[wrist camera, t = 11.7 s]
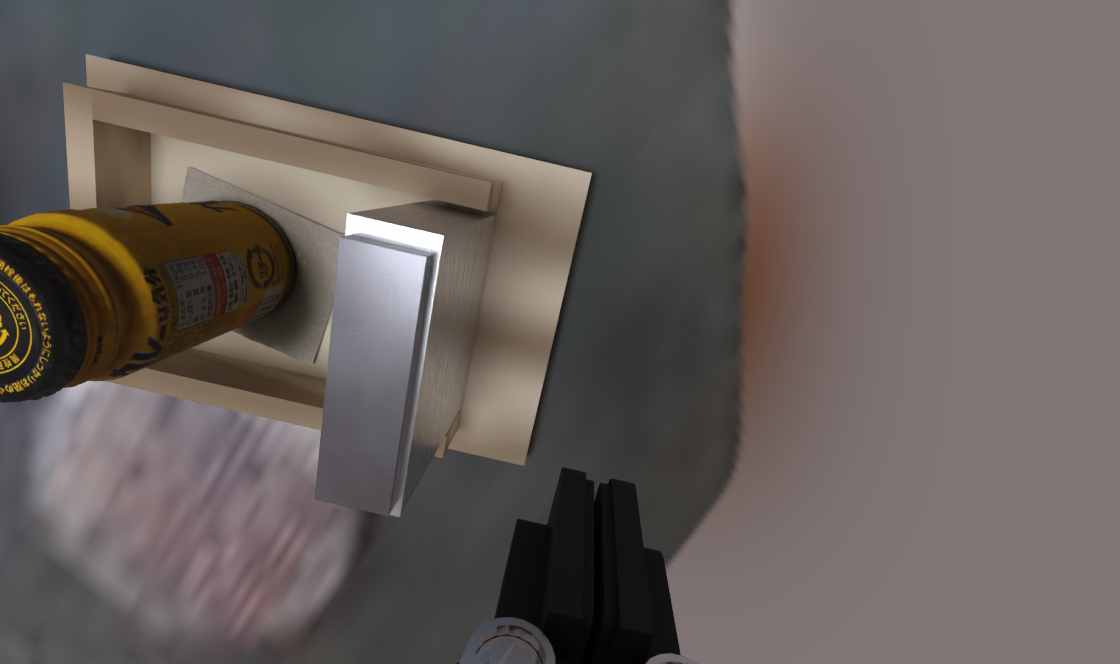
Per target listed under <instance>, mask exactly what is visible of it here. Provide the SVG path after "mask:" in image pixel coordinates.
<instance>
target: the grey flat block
mask: <svg viewBox="0 0 1120 664" xmlns="http://www.w3.org/2000/svg"><path fill="white" fill-rule="evenodd" d="M496 216H497V213H493V212H488V211H483V210H479V209H474V208H470V207H466V206H461V205H457V204H453V203H449V202H444V201H440V200H436V199H435V200H428V201H422V202H416V203H409V204H403V205H397V206H390V207H384V208H378V209H372V210H365V211H359V212H353V213H347V221H346V231H345V236H343V237H340V239H339V250H338V260H337V271H336V281H335V292H334V302H333V313H332V323H331V334H330V345H329V355H328V366H327V376H326V387H325V397H324V408H323V418H322V429H321V439H320V450H319V460H318V471H317V481H316V492H315V500H319V501H324V502H328V503H333V504H337V505H341V506H346V507H350V508H355V509H359V510H364V511H368V512H372V513H377V514H381V515H386V516H389V515H393V516H397V517H400V516H401V514H402V513H403V511H404V509H405V507H406V505H407V504H408V502H409V500H410V498H411V496H412V495H413V493H414V491H415V489H416V487H417V486H418V484H419V482H420V480H421V478H422V477H423V475H424V473H425V471H426V469H427V468H428V466H429V464H430V462H431V460H432V459H433V457H434V455H435V453H436V451H437V450H438V448H439V446H440V444H441V442H442V441H443V439H444V437H445V435H446V433H447V432H448V430H449V428H450V426H451V424H452V423H453V421H454V419H455V417H456V415H457V414H458V412H459V410H460V408H461V406H462V402H463V396H464V391H465V385H466V380H467V375H468V369H469V364H470V358H471V353H472V347H473V342H474V336H475V331H476V325H477V320H478V315H479V309H480V304H481V298H482V293H483V287H484V282H485V276H486V271H487V265H488V260H489V255H490V249H491V244H492V238H493V233H494V227H495V222H496Z"/></svg>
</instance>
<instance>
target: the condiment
mask: <svg viewBox="0 0 1120 664" xmlns="http://www.w3.org/2000/svg"><path fill="white" fill-rule="evenodd" d="M343 236H344V235H342V234H339V233H337V232H334V231H332V230H330V229H328V228H326V227H324V226H321V225H319V224H316V223H314V222H312V221H310V220H307V219H305V218H303V217H301V216H299V215H296V214H294V213H292V212H290V211H288V210H285V209H283V208H281V207H279V206H277V205H275V204H273V203H270V202H268V201H266V200H264V199H262V198H259V197H257V196H255V195H252V194H250V193H248V192H246V191H243V190H241V189H239V188H237V187H234V186H232V185H230V184H228V183H226V182H223V181H221V180H218V179H216V178H214V177H212V176H210V175H207V174H205V173H203V172H200V171H198V170H195V169H193V168H190V167H187V175H186V177H185V183H184V188H183V195H182V198H181V203H172V204H170V203H169V204H166V203H163V204H153V205H133V206H127V207H108V208H88V209H83V210H75V209H69V210H61V211H53V212H43V213H37V214H33V215H30V216H27V217H24V218H22V219H19V220H16V221H14V222H11V223H10V224H8V225H0V402H4V403H6V402H21V401H25V400H38V399H41V398H42V397H43V396H44V397H47V396H50V395H52V394H54V393H56V392H57V391H60V390H61V389H62V388H66V387H74V386H77V385H79V384H82V383H84V382H86V381H106V380H115V379H118V378H123V377H125V376H127V375H129V374H131V373H134V372H137V371H139V370H141V369H144V368H146V367H148V366H151V365H153V364H156V363H158V362H160V361H162V360H165V359H167V358H169V357H171V356H174V355H176V354H179V353H182V352H183V351H186V350H188V349H190V348H192V347H195V346H197V345H200V344H202V343H204V342H207V341H209V340H211V339H213V338H216V337H218V336H220V335H223V334H225V333H228V332H230V331H233V332H235V333H237V334H241V335H242V336H244V337H246V338H247V339H250V340H252V341H255V342H258V343H261V344H263V345H265V346H267V347H270V348H273V349H275V350H277V351H279V352H282V353H284V354H286V355H288V356H290V357H292V358H293V359H296V360H299V361H301V362H304V363H306V364H308V365H311V366H312V364H313V361H314V358H315V355H316V352H317V350H318V348H319V345H320V342H321V339H322V336H323V333H324V329H325V326H326V324H327V321H328V318H329V315H330V312H331V309H332V305H333V302H334V292H335V281H336V271H337V260H338V250H339V239H340V237H343ZM298 253H299V254H300V257H299V256H298ZM304 260H305V262H306V265H305V264H304V262H303V261H304Z"/></svg>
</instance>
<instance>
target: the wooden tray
mask: <svg viewBox="0 0 1120 664" xmlns="http://www.w3.org/2000/svg"><path fill="white" fill-rule="evenodd" d="M86 72H87V86H82V85H76V84H70V83H64V82H63V95H64V112H65V129H66V146H67V162H68V179H69V196H70V209H75V210H83V209H88V208H108V207H127V206H133V205H153V204H163V203H166V204H169V203H170V204H172V203H181V198H182V195H183V188H184V183H185V177H186V175H187V167H190V168H193V169H195V170H198V171H200V172H203V173H205V174H207V175H210V176H212V177H214V178H216V179H218V180H221V181H223V182H226V183H228V184H230V185H232V186H234V187H237V188H239V189H241V190H243V191H246V192H248V193H250V194H252V195H255V196H257V197H259V198H262V199H264V200H266V201H268V202H270V203H273V204H275V205H277V206H279V207H281V208H283V209H285V210H288V211H290V212H292V213H294V214H296V215H299V216H301V217H303V218H305V219H307V220H310V221H312V222H314V223H316V224H319V225H321V226H324V227H326V228H328V229H330V230H332V231H334V232H337V233H339V234H342V235H344V236H345V231H346V221H347V213H353V212H359V211H365V210H372V209H378V208H384V207H390V206H397V205H403V204H409V203H416V202H422V201H428V200H435V199H436V200H440V201H444V202H449V203H453V204H457V205H461V206H466V207H470V208H474V209H479V210H483V211H488V212H493V213H497V216H496V222H495V227H494V233H493V238H492V244H491V249H490V255H489V260H488V265H487V271H486V276H485V282H484V287H483V293H482V298H481V304H480V309H479V315H478V320H477V325H476V331H475V336H474V342H473V347H472V353H471V358H470V364H469V369H468V375H467V380H466V385H465V391H464V396H463V402H462V406H461V408H460V410H459V412H458V414H457V415H456V417H455V419H454V421H453V423H452V424H451V426H450V428H449V430H448V432H447V433H446V435H445V437H444V439H443V441H442V442H441V444H440V446H439V448H438V450H437V451H436V453H435V455H434V456H436V457H441V458H443V457H444V455H445V453H446V451H447V449H452V450H456V451H461V452H465V453H470V454H474V455H478V456H483V457H487V458H492V459H496V460H500V461H505V462H509V463H513V464H518V465H522V466H524V464H525V459H526V455H527V451H528V447H529V442H530V438H531V434H532V429H533V425H534V421H535V416H536V412H537V408H538V403H539V399H540V395H541V391H542V386H543V382H544V378H545V373H546V369H547V365H548V360H549V356H550V352H551V347H552V343H553V339H554V335H555V330H556V326H557V322H558V317H559V313H560V309H561V304H562V300H563V296H564V291H565V287H566V283H567V278H568V274H569V270H570V266H571V261H572V257H573V253H574V248H575V244H576V240H577V235H578V231H579V227H580V222H581V218H582V214H583V210H584V205H585V201H586V197H587V192H588V188H589V184H590V179H591V175H592V173H589V172H585V171H581V170H577V169H572V168H568V167H564V166H560V165H555V164H551V163H547V162H543V161H538V160H534V159H530V158H526V157H521V156H517V155H513V154H509V153H504V152H500V151H496V150H492V149H487V148H483V147H479V146H475V145H470V144H466V143H462V142H458V141H453V140H449V139H445V138H441V137H436V136H432V135H428V134H424V133H419V132H415V131H411V130H407V129H402V128H398V127H394V126H390V125H385V124H381V123H377V122H372V121H368V120H364V119H360V118H355V117H351V116H347V115H343V114H338V113H334V112H330V111H326V110H321V109H317V108H313V107H309V106H304V105H300V104H296V103H292V102H287V101H283V100H279V99H275V98H270V97H266V96H262V95H258V94H253V93H249V92H245V91H241V90H236V89H232V88H228V87H224V86H219V85H215V84H211V83H207V82H202V81H198V80H194V79H190V78H185V77H181V76H177V75H173V74H168V73H164V72H160V71H156V70H151V69H147V68H143V67H139V66H134V65H130V64H126V63H122V62H117V61H113V60H109V59H105V58H100V57H96V56H92V55H87V54H86ZM298 256H299V257H300V254H299V253H298ZM303 262H304V264H305V265H306V262H305V260H304V261H303ZM332 313H333V305H332V309H331V312H330V315H329V318H328V321H327V324H326V326H325V329H324V333H323V336H322V339H321V342H320V345H319V348H318V350H317V352H316V355H315V358H314V361H313V364H312V366H311V365H308V364H306V363H304V362H301V361H299V360H296V359H293V358H292V357H290V356H288V355H286V354H284V353H282V352H279V351H277V350H275V349H273V348H270V347H267V346H265V345H263V344H261V343H258V342H255V341H252V340H250V339H247V338H246V337H244V336H242V335H241V334H237V333H235V332H233V331H230V332H228V333H225V334H223V335H220V336H218V337H216V338H213V339H211V340H209V341H207V342H204V343H202V344H200V345H197V346H195V347H192V348H190V349H188V350H186V351H183V352H182V353H179V354H176V355H174V356H171V357H169V358H167V359H165V360H162V361H160V362H158V363H156V364H153V365H151V366H148V367H146V368H144V369H141V370H139V371H137V372H134V373H131V374H129V375H127V376H125V377H123V378H118V379H115V380H106V381H107V382H112V383H116V384H120V385H125V386H129V387H134V388H138V389H142V390H147V391H151V392H156V393H160V394H164V395H169V396H173V397H177V398H182V399H186V400H191V401H195V402H199V403H204V404H208V405H213V406H217V407H221V408H226V409H230V410H235V411H239V412H243V413H248V414H252V415H256V416H261V417H265V418H270V419H274V420H278V421H283V422H287V423H292V424H296V425H300V426H305V427H309V428H314V429H318V430H321V429H322V418H323V408H324V397H325V387H326V376H327V366H328V355H329V345H330V334H331V323H332Z"/></svg>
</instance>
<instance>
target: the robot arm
mask: <svg viewBox="0 0 1120 664" xmlns="http://www.w3.org/2000/svg"><path fill="white" fill-rule="evenodd" d="M457 664H697V663H696V662H694V661H692V660H690V659H688V658H686V657H684V656H681V655H680V649H679V644H678V638H677V632H676V627H675V621H674V616H673V610H672V604H671V598H670V593H669V587H668V581H667V576H666V570H665V564H664V559H663V555H662V553H661V552H660V551H657V550H653V549H648V548H644V547H643V540H642V532H641V525H640V517H639V509H638V501H637V494H636V487H635V484H633V483H629V482H625V481H620V480H616V479H612V478H611V479H610V480H609V483H608V484H604V483H600V485H599V488H598V491H597V494H596V498H595V501H594V481H591V480H587V479H586V473H585V472H581V471H577V470H572V469H568V468H564V467H563V468H562V470H561V473H560V477H559V481H558V485H557V489H556V492H555V496H554V500H553V504H552V508H551V512H550V516H549V519H548V523H547V525H543V524H539V523H534V522H530V521H526V520H521V519H517V522H516V526H515V530H514V535H513V539H512V543H511V547H510V552H509V556H508V560H507V565H506V569H505V573H504V578H503V582H502V587H501V591H500V596H499V600H498V605H497V610H496V614H495V619H494V620H491V621H488V622H486V623H485V624H483V625H482V626H481V627H479V628H478V629H477V630H476V631H475V633H474V634H473V636H472V637H471V639H470V640H469V642H468V645H467V647H466V649H465V651H464V654H463V656H462V658H461V660H460V662H459V663H457Z"/></svg>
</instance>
